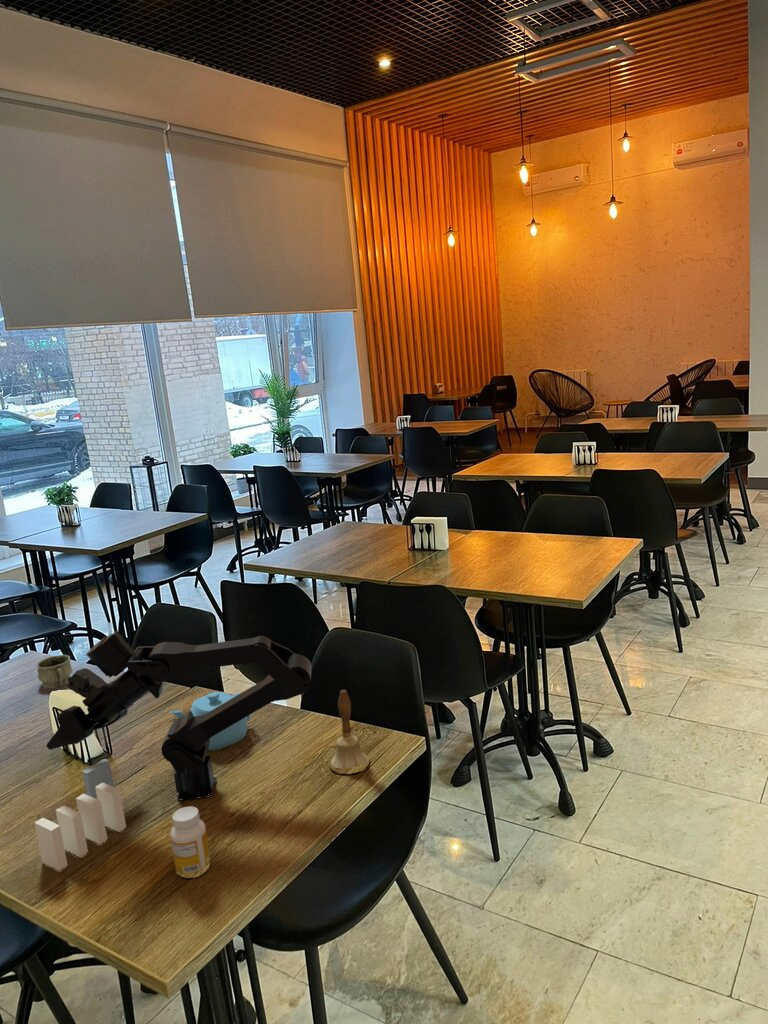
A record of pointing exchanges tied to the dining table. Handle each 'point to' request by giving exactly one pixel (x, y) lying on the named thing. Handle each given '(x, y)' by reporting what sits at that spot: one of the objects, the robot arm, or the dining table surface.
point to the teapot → (210, 703)
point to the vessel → (54, 671)
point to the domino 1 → (50, 843)
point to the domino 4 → (111, 806)
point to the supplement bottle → (189, 841)
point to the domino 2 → (72, 830)
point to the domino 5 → (92, 818)
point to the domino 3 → (97, 777)
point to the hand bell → (347, 739)
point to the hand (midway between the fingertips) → (60, 740)
